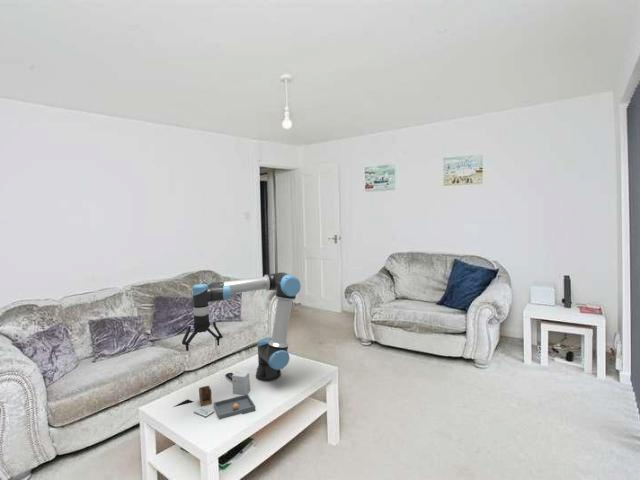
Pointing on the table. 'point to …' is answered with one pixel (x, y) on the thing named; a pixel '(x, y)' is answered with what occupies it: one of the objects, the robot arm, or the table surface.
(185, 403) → the smartphone
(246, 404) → the tray
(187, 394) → the table surface
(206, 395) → the brown wooden bin
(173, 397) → the table surface
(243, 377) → the small box
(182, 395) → the table surface
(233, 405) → the ball
